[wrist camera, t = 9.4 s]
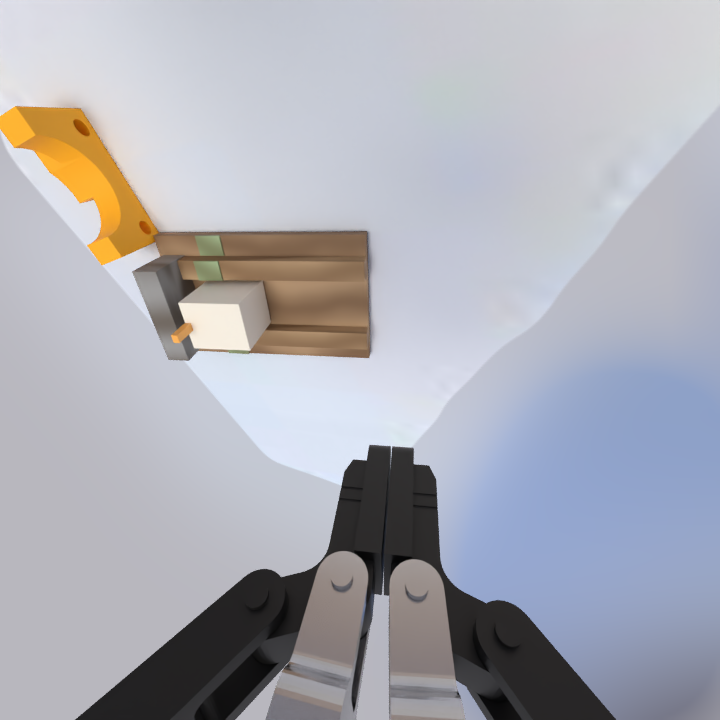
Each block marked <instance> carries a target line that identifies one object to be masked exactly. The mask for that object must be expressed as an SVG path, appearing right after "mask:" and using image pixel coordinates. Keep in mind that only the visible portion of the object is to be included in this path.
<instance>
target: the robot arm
mask: <svg viewBox="0 0 720 720" xmlns="http://www.w3.org/2000/svg"><path fill="white" fill-rule="evenodd" d="M413 456H414V449H413V448H407V447H394V446H392V457H391V446H379V445H370V446H369V450H368V457H367V461H364V460H353V461H352V462H351V463H350V465H349V466H348V468H347V469H346V470H345V472H344V477H343V482H342V488H341V491H340V497H339V501H338V506H337V511H336V515H335V521H334V525H333V530H332V535H331V540H330V544H329V548H328V550H327V553H326V555H325V556H324V558H323V559H322V560H321V561H320V562H319V563H318V564H317V565H316V566H315V567H313V568H312V569H309V570H307V571H305V572H301V573H297V574H293V575H289V576H285V577H280V576H279V575H278V574H277V573H276V572H274V571H272V570H268V569H260V570H256V571H253V572H251V573H250V574H248V575H247V576H245V577H244V578H243V579H242V580H241V581H239V582H238V583H237V584H236V585H234V586H233V587H232V588H231V589H230V590H229V591H227V592H226V593H225V594H224V595H223V596H221V597H220V598H219V599H218V600H217V601H216V602H214V603H213V604H212V605H211V606H210V607H208V608H207V609H206V610H205V611H204V612H202V613H201V614H200V615H199V616H198V617H197V618H195V619H194V620H193V621H192V622H191V623H189V624H188V625H187V626H186V627H185V628H183V629H182V630H181V631H180V632H179V633H178V634H176V635H175V636H174V637H173V638H172V639H171V640H169V641H168V642H167V643H166V644H164V645H163V646H162V647H161V648H160V649H159V650H157V651H156V652H155V653H154V654H153V655H151V656H150V657H149V658H148V659H147V660H146V661H144V662H143V663H142V664H141V665H140V666H138V667H137V668H136V669H135V670H134V671H132V672H131V673H130V674H129V675H128V676H127V677H125V678H124V679H123V680H122V681H121V682H120V683H118V684H117V685H116V686H115V687H114V688H112V689H111V690H110V691H109V692H108V693H106V694H105V695H104V696H103V697H102V698H100V699H99V700H98V701H97V702H96V703H95V704H93V705H92V706H91V707H90V708H89V709H88V710H86V711H85V712H84V713H83V714H81V715H80V716H79V717H78V718H77V719H76V720H235V719H236V718H237V717H238V716H239V715H240V714H241V713H242V712H243V711H244V710H245V708H246V707H247V706H248V705H249V704H250V703H251V702H252V701H253V700H254V699H255V698H256V696H257V695H259V693H260V692H261V691H262V690H263V689H264V688H265V687H266V686H267V685H268V684H269V683H270V682H271V680H272V679H273V678H274V677H275V676H276V675H277V674H278V673H279V672H280V671H281V670H282V669H283V668H284V666H285V665H286V664H287V663H288V662H289V661H290V662H289V663H288V665H287V666H286V667H285V668H284V670H283V671H282V673H281V675H280V677H279V680H278V682H277V685H276V688H275V691H274V694H273V697H272V701H271V704H270V707H269V710H268V713H267V717H266V720H356V714H357V707H358V700H359V693H360V688H361V681H362V675H363V669H364V662H365V655H366V650H367V644H368V637H369V630H370V625H371V622H372V615H373V604H374V594H379V595H381V594H382V584H383V572H384V595H389V720H465V715H464V709H463V704H462V700H461V698H460V695H459V693H458V689H457V685H456V680H457V681H458V682H460V683H462V684H463V685H465V686H466V687H467V689H468V690H469V692H470V694H471V695H472V697H473V698H474V700H475V701H476V703H477V705H478V706H479V708H480V709H481V711H482V713H483V714H484V715H485V717H486V719H487V720H616V719H615V718H614V717H613V716H612V714H611V713H610V712H609V711H608V710H607V709H606V707H605V706H604V705H603V704H602V703H601V701H600V700H599V699H598V698H597V697H596V696H595V694H594V693H593V692H592V691H591V690H590V689H589V687H588V686H587V685H586V684H585V683H584V682H583V681H582V679H581V678H580V677H579V676H578V675H577V673H576V672H575V671H574V670H573V669H572V668H571V667H570V665H569V664H568V663H567V662H566V660H565V659H564V658H563V657H562V656H561V655H560V653H559V652H558V651H557V650H556V649H555V648H554V647H553V645H552V644H551V643H550V642H549V641H548V639H547V638H546V637H545V636H544V635H543V634H542V632H541V631H540V630H539V629H538V628H537V627H536V625H535V624H534V623H533V622H532V621H531V620H530V618H529V617H528V616H527V615H526V614H525V613H524V612H523V611H522V610H521V609H519V608H518V607H517V606H515V605H513V604H511V603H509V602H505V601H500V600H496V601H491V602H488V603H487V604H486V603H484V602H483V601H480V600H478V599H476V598H474V597H472V596H470V595H468V594H466V593H464V592H463V591H461V590H459V589H458V588H457V587H455V586H454V585H453V584H452V583H451V581H450V580H449V579H448V578H447V576H446V575H445V573H444V571H443V568H442V565H441V561H440V547H439V528H438V510H437V488H436V478H435V476H434V475H433V473H432V471H431V469H430V467H429V466H427V465H426V466H425V465H414V464H413V458H414V457H413ZM390 466H391V470H390Z"/></svg>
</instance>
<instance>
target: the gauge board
mask: <svg viewBox="0 0 720 720" xmlns="http://www.w3.org/2000/svg"><path fill="white" fill-rule="evenodd" d="M153 236H154V239H155V242H156V245H157V248H158V250H159V253H160V256H161V257H159V258H157V259H155V260H153V261H151V262H149V263H148V264H146V265H144V266H142V267H140V268H138V269H136V270H134V271H132V272H133V275H134V277H135V280H136V282H137V285H138V287H139V289H140V292H141V294H142V297H143V299H144V301H145V304H146V306H147V309H148V311H149V314H150V316H151V318H152V321H153V323H154V326H155V328H156V330H157V333H158V335H159V338H160V340H161V343H162V345H163V347H164V350H165V352H166V354H167V357H168V359H169V360H186V361H189V360H190V359H191V358H192V357H193V356H194V355H195V354H196V352H197V351H217V352H229V353H242V354H249V353H264V354H287V355H311V356H334V357H358V358H369V356H370V323H369V286H368V249H367V231H353V232H173V233H158V234H156V235H153ZM223 280H255V281H263V285H264V290H265V295H266V300H267V305H268V310H269V315H270V320H271V323H270V324H269V326H268V327H267V328H266V330H265V331H264V332H263V334H262V335H261V337H260V338H259V339H258V341H257V342H256V343H255V345H254V346H253V348H252V349H251V350H250V351H247V350H223V349H199V348H194V347H193V344H192V341H191V338H190V335H188V336H187V337H186V338H185V339H184V340H182V341H181V342H180V343H174V342H173V340H172V337H171V335H172V334H173V333H174V332H175V331H176V330H177V329H179V328H180V327H181V326H182V325H183V324H184V323H185V321H184V318H183V316H182V313H181V310H180V307H179V304H178V303H179V302H180V301H181V300H182V299H184V298H185V297H186V296H188V295H189V294H190V293H192V292H193V291H194V290H196V289H197V288H198V287H200V286H201V285H202V284H203V283H205V282H206V281H223Z"/></svg>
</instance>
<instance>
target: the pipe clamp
mask: <svg viewBox="0 0 720 720" xmlns="http://www.w3.org/2000/svg"><path fill="white" fill-rule="evenodd" d="M0 129H1V131H2V132H3V133H4V135H5V136H6V137H7V139H8V140H9V141H10V143H11V144H12V145H13V147H14V148H25V149H30V150H34V151H35V153H36V154H37V156H38V157H39V158H40V160H41V161H42V162H43V164H44V165H45V167H46V168H47V169H48V171H49V172H50V173H51V174H53V175H54V176H55V177H57V178H58V179H59V180H60V181H61V182H62V183H63V184H64V185H65V186H67V188H68V189H69V190H70V191H71V192H72V193H73V194H74V196H75V197H76V198H77V200H78V201H79V203H83V202H87V201H91V200H94V201H95V203H96V205H97V207H98V210H99V213H100V217H101V230H100V233H99V236H98V237H97V239H96V240H95V241H94V242H93V243H91V244H89V245H87V246H88V247H89V249H90V250H91V251H92V253H93V254H94V255H95V257H96V258H97V259H98V261H99V262H100V263H101V265H104V264H106V263H109V262H111V261H114V260H116V259H119V258H121V257H123V256H126V255H128V254H130V253H132V252H134V251H136V250H139V249H141V248H143V247H145V246H147V245H149V244H152V243H154V242H155V239H154V236H153V235H156V234H158V233H159V232H158V230H157V229H156V227H155V226H154V224H153V223H152V221H151V219H150V218H149V216H148V215H147V213H146V211H145V210H144V208H143V207H142V205H141V203H140V202H139V200H138V199H137V197H136V196H135V194H134V192H133V191H132V189H131V188H130V186H129V184H128V183H127V181H126V180H125V178H124V177H123V175H122V173H121V172H120V170H119V169H118V167H117V165H116V164H115V162H114V161H113V159H112V157H111V156H110V154H109V153H108V151H107V150H106V148H105V146H104V145H103V143H102V142H101V140H100V138H99V137H98V135H97V134H96V132H95V130H94V129H93V127H92V126H91V124H90V123H89V121H88V119H87V118H86V116H85V115H84V113H83V111H82V110H81V109H76V108H48V107H20V106H15V107H14V108H12V109H11V110H9V111H8V112H6V113H5V114H3V115H1V116H0Z"/></svg>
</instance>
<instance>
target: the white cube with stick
mask: <svg viewBox="0 0 720 720" xmlns="http://www.w3.org/2000/svg"><path fill="white" fill-rule="evenodd" d="M178 304H179V307H180V310H181V313H182V316H183V318H184V321H185V323H184V324H183V325H182V326H181V327H180V328H179V329H177V330H176V331H175V332H174V333H173V334H172V335H171V337H172V340H173V342H174V343H180V342H181V341H182V340H184V339H185V338H186V337H187V336H188V335H190V338H191V341H192V344H193V347H194V348H199V349H223V350H247V351H250V350H251V349H252V348H253V346H254V345H255V343H256V342H257V341H258V339H259V338H260V337H261V335H262V334H263V332H264V331H265V330H266V328H267V327H268V326H269V324H270V323H271V320H270V315H269V310H268V305H267V300H266V295H265V290H264V285H263V281H255V280H223V281H206V282H205V283H203V284H202V285H201V286H200V287H198V288H197V289H196V290H194V291H193V292H192V293H190V294H189V295H188V296H186V297H185V298H184V299H182V300H181V301H180V302H179V303H178Z"/></svg>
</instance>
